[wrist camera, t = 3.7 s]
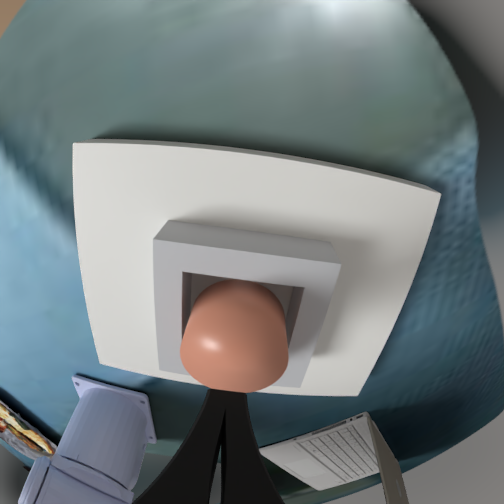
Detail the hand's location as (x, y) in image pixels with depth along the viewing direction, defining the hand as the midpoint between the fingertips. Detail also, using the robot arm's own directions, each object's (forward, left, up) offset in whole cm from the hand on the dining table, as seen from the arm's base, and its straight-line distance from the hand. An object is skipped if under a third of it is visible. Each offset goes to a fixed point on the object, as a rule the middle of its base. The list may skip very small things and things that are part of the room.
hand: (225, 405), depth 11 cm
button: (0, 0, -6) cm, 6 cm away
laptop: (-24, -14, -10) cm, 30 cm away
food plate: (-36, +36, -10) cm, 52 cm away
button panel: (0, 0, -9) cm, 9 cm away
